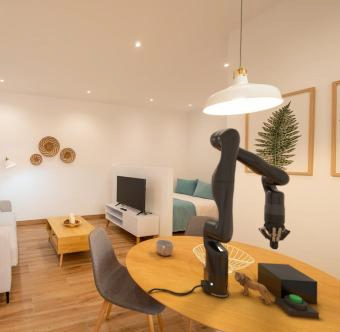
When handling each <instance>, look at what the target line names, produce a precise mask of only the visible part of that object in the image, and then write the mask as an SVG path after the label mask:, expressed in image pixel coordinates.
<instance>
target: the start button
mask: <svg viewBox="0 0 340 332" xmlns="http://www.w3.org/2000/svg"><path fill="white" fill-rule="evenodd" d="M290 300H291V301H292V302H294V303H298V304H302V298H301V297H299V296H296V295H292V294H291V295H290Z"/></svg>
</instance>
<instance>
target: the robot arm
mask: <svg viewBox="0 0 340 332" xmlns="http://www.w3.org/2000/svg"><path fill="white" fill-rule="evenodd" d="M209 143H210V145H211V147H212V148H214V149H215V150H217V151H219V152H220V158H219V160H218V163H217V165H216V167H215V168H214V170H213V172H212V175H211V178H210V194H211V197H212V199H213V201H214V204H215V205H216V208H217V213H218V214H217V219H216V218H211V217H210V218H207V219H206V220H205V221H204V223H203V225H202V241H203V248H204V251H205V253H204V254H205V255H204V258H205V259H204V267H203V279H200V284H198V285H195V286H193V287H192V288H191V289H190V290H189V291H186V292H175V291H173V290H171V289H167V288H156V287H155V288H151V289H149V290H148V291H147V294H151V293H152V292H153V291H162V292H168V293H171V294H174V295H177V296H178V295H179V296H185V295H189V294H191V293H193V292H194V291H195V290H196V289H198V288H201V289H202V290H203V292H206V293H207V294H208V295H209V296H214V297H216V298H227V297H229V290H230V285H229V251H228V249H227V248H226V247H225V246H224V245H223V244H228V243H230V242H231V241H232V239H233V236H234V194H235V185H236V184H235V183H236V170H237V162H239V163H241V164H242V165H243V166H245V167H246V168H247V169H249V170H250V171H252V173H254V174H255V175H257V176H261V177H260V181H261V186H262V188H263V192H264V204H263V205H264V207H263V212H264V213H263V221H264V223H263V226H262V227H258V231H259V232H260V234H261V235H262V236H263V237H264V238H265V239H266V240H268V241H269V247H270V249H271V250H278V248H279V242H281V241H284V240H285V239H286V238H287V236H289V234H291V230H289V229H287V228H286V226H285V223H286V205H285V198H286V195H285V193H284V192H283V191H281V190H279V189H278V188H277V187H283V186H287V185H288V184H289V183H290V181H291V178H290V175H289V174H288V172H286V171H285V170H284V169H282V168H279V167H278V166H276V165H274V164H271V163H270V162H268V161H267V160H266V159H265V158H263V157H262V156H260V155H259V154H256V153H255V152H253V151H250V150H248V149H245V148H243V147H241V145H240V144H241V134H240V132H239V130H237V128H234V127H228V128H224V129H219V130H216V131H214V132H213V133H212V134H211V135H210V136H209ZM142 332H144V331H142Z"/></svg>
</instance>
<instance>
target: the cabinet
mask: <svg viewBox="0 0 340 332" xmlns="http://www.w3.org/2000/svg"><path fill="white" fill-rule="evenodd" d="M257 283H259V284H262V285H264V286H265V287H266V289H267V290H268V292H269V293H270V294H272V295H273V296H274V298H285V296H287V295H289V296H290V295H291V294H292V295H296V296H299V297H301V298H302V300H304V301H305V302H307V304H308V305H318V281H317V280H316V279H314V278H312V277H310V276H309V275H307V274H305V273H304V272H302V271H300V270H298V269H297V268H295V267H293V266H292V265H290V264H288V263H274V262H273V263H271V262H257Z"/></svg>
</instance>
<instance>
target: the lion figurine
mask: <svg viewBox="0 0 340 332" xmlns="http://www.w3.org/2000/svg"><path fill="white" fill-rule="evenodd" d="M234 279H235V281H236V282H237V283H239V285H240V286H241V287H243V289H244V292H242V294H243V295H248V293H249V289H250V290H252V291H254V292H258V293H259V294H260V299H261V300H265V301H264V304H265V305H269V304H270V303H272V304H274V305H275V304H276V303H275V301H273V300H272V299H271V296H270V292H269V291H268V290H267V289H266V287H265V286H264V285H262V284H260V283H259V282H256V281H253V280H252V279H251V277H249V276H248V275H246V274H245V273H244V272H243V271H239V270H237V271H235V272H234ZM266 294H267V295H266Z"/></svg>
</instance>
